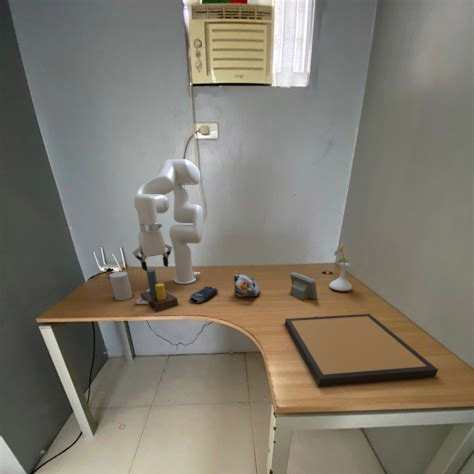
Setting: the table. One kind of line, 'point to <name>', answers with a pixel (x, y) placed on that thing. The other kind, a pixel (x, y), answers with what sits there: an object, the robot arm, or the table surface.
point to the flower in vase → (341, 282)
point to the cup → (120, 285)
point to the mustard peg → (160, 291)
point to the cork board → (355, 351)
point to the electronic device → (203, 294)
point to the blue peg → (152, 281)
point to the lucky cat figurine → (245, 286)
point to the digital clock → (303, 286)
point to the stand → (157, 304)
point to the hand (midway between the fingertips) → (155, 268)
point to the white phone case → (141, 301)
